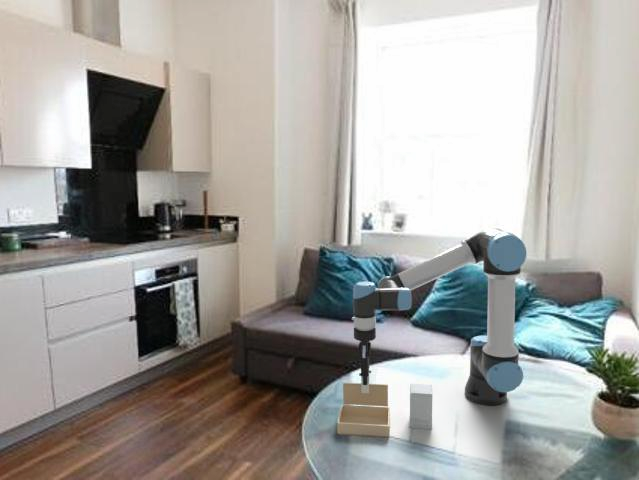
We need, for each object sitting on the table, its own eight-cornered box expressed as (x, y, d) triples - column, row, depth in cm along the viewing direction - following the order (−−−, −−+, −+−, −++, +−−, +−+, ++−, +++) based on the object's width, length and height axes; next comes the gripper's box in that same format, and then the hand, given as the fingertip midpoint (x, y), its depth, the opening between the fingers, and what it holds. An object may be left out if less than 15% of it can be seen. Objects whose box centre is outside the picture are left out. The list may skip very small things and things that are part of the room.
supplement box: (432, 430, 159) (432, 394, 157) (409, 428, 161) (409, 392, 159) (431, 418, 166) (432, 384, 164) (410, 416, 168) (410, 382, 166)
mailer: (389, 418, 167) (389, 407, 166) (389, 437, 155) (389, 426, 155) (341, 415, 170) (341, 404, 169) (337, 434, 158) (337, 423, 157)
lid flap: (387, 406, 166) (387, 405, 167) (387, 385, 165) (387, 384, 166) (343, 404, 169) (343, 403, 170) (343, 383, 168) (343, 382, 168)
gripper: (355, 320, 170) (356, 383, 173) (352, 333, 157) (353, 400, 161) (376, 321, 169) (376, 384, 172) (374, 334, 156) (375, 401, 160)
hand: (365, 392), depth 167 cm, fingers closed
